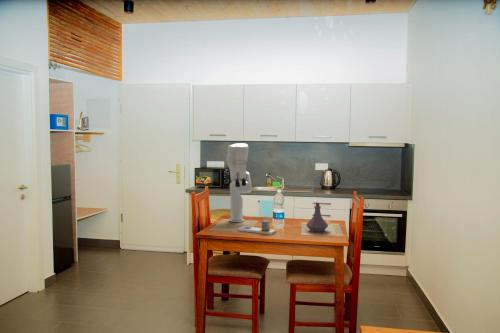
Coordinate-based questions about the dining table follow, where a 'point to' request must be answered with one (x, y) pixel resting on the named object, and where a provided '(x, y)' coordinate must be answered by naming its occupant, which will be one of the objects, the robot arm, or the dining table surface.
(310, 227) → the flask
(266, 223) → the nut block
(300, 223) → the dining table surface
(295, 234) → the dining table surface
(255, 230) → the white flat tray
